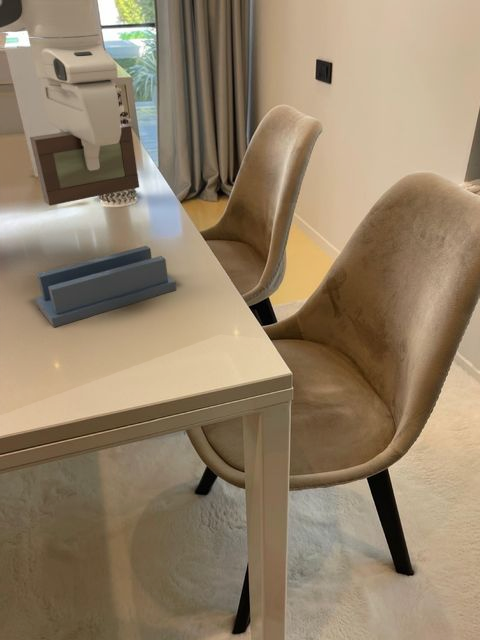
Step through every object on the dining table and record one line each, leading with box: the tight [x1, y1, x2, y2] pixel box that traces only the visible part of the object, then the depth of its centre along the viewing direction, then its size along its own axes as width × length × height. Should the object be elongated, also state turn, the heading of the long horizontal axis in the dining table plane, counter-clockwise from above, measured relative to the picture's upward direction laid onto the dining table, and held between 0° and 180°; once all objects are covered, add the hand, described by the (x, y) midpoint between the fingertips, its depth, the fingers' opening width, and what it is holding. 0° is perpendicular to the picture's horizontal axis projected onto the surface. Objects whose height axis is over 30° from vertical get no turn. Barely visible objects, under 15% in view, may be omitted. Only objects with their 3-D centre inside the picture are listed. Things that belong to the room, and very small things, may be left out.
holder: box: [34, 245, 177, 328], centre depth 87 cm, size 8×20×6 cm, turn 126°
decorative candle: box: [98, 81, 138, 208], centre depth 122 cm, size 9×9×25 cm
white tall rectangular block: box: [4, 45, 65, 178], centre depth 137 cm, size 14×6×30 cm, turn 82°
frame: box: [30, 124, 140, 207], centre depth 82 cm, size 2×14×9 cm, turn 126°
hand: (88, 166), depth 82 cm, fingers closed on frame, 2 cm apart
